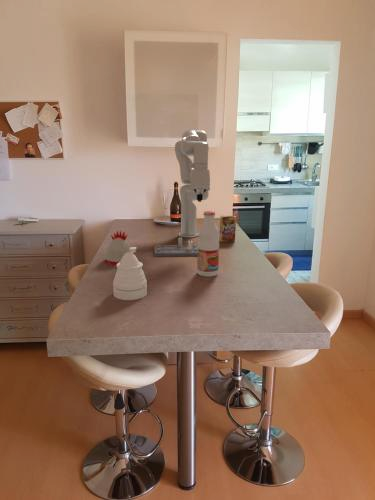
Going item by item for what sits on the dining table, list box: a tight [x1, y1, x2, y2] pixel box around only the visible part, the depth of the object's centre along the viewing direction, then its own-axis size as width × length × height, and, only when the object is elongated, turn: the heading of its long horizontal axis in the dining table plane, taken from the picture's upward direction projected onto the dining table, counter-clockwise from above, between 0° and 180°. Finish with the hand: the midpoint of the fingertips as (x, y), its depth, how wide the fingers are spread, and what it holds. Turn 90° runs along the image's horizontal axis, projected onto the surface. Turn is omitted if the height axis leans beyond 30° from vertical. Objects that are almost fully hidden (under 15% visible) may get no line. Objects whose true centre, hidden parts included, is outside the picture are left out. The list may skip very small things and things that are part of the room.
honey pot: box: [112, 246, 148, 301], centre depth 147 cm, size 13×13×18 cm
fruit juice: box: [196, 210, 220, 278], centre depth 170 cm, size 9×9×28 cm
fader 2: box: [187, 239, 193, 250], centre depth 205 cm, size 3×2×5 cm
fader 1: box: [177, 236, 183, 247], centre depth 211 cm, size 3×2×5 cm
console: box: [154, 243, 198, 257], centre depth 207 cm, size 16×24×2 cm, turn 94°
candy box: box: [218, 215, 237, 243], centre depth 229 cm, size 9×4×15 cm, turn 98°
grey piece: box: [104, 230, 132, 266], centre depth 189 cm, size 14×14×15 cm
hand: (199, 201), depth 207 cm, fingers closed
